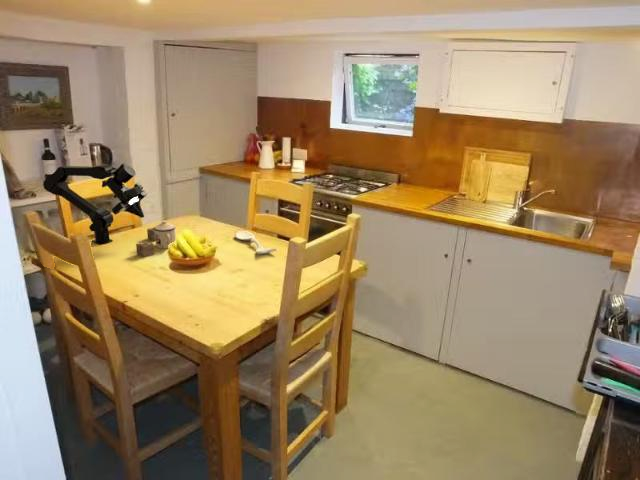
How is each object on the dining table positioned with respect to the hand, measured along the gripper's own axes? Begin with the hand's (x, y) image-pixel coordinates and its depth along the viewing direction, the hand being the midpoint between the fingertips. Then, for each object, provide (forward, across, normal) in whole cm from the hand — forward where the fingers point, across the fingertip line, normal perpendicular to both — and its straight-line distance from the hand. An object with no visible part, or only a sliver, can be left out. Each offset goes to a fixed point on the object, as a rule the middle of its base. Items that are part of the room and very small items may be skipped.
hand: (143, 217), depth 205 cm
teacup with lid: (+17, 0, +2) cm, 17 cm away
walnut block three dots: (+10, +8, +10) cm, 16 cm away
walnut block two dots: (+14, -11, +3) cm, 18 cm away
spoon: (+41, +16, -24) cm, 50 cm away
